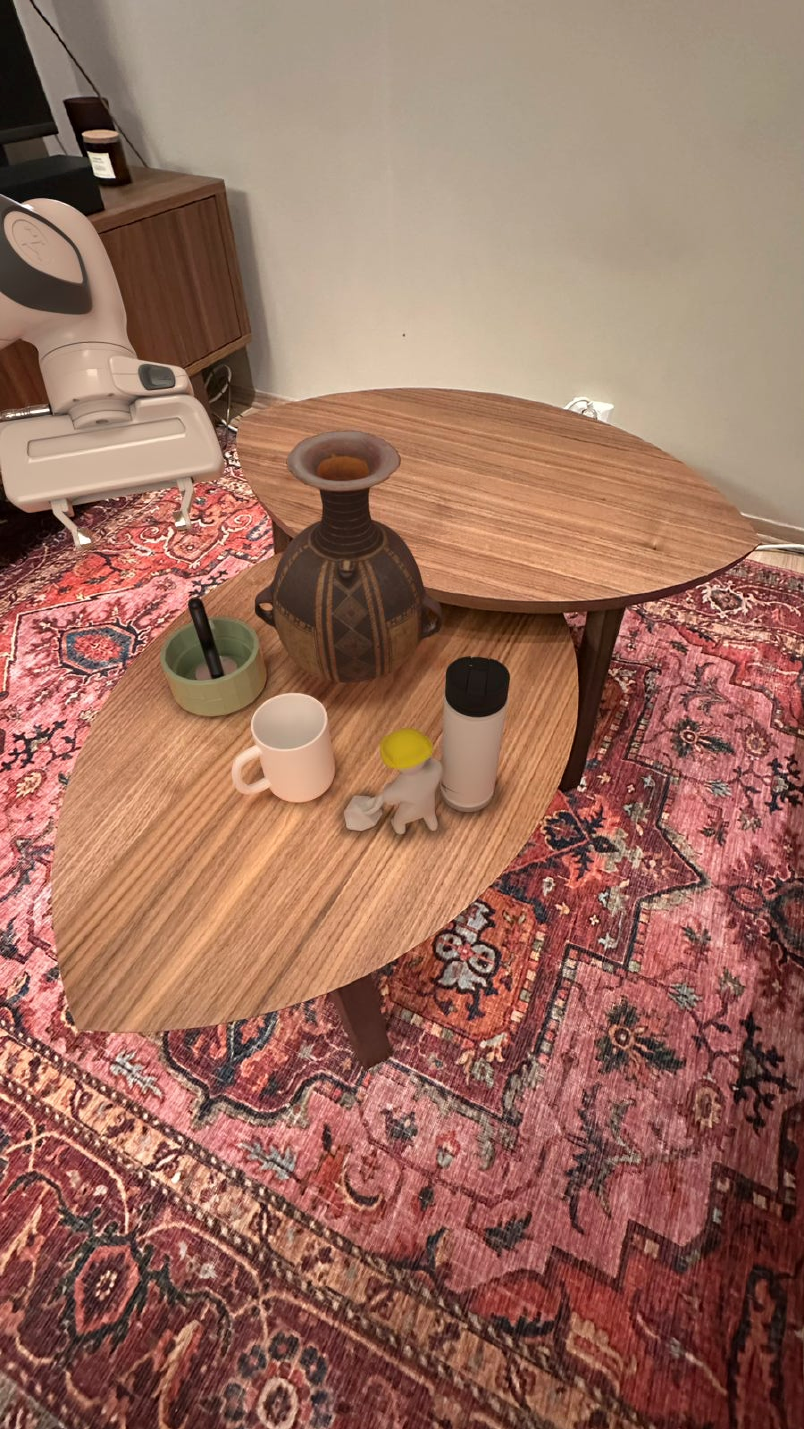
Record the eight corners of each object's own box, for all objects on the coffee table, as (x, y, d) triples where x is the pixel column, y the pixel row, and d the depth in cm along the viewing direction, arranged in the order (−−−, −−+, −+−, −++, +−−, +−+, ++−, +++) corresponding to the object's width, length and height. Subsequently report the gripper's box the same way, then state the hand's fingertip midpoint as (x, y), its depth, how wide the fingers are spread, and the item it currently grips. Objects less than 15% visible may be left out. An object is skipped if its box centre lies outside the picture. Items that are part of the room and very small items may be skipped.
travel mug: (436, 812, 78) (440, 693, 63) (443, 765, 82) (449, 644, 67) (490, 819, 77) (509, 701, 62) (495, 772, 81) (513, 651, 66)
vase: (248, 684, 92) (193, 480, 69) (314, 598, 103) (286, 398, 80) (406, 734, 86) (403, 528, 63) (458, 636, 97) (471, 432, 74)
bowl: (188, 732, 86) (174, 697, 81) (163, 670, 94) (149, 635, 89) (280, 697, 90) (272, 662, 85) (249, 641, 97) (240, 605, 92)
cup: (349, 781, 81) (342, 726, 73) (260, 834, 76) (242, 781, 69) (312, 737, 85) (302, 681, 78) (226, 785, 81) (205, 731, 73)
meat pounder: (205, 701, 89) (176, 620, 78) (193, 674, 92) (164, 592, 82) (246, 687, 90) (223, 605, 80) (232, 660, 94) (209, 578, 83)
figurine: (399, 768, 82) (396, 681, 71) (453, 815, 78) (460, 731, 66) (333, 816, 78) (319, 733, 66) (387, 870, 73) (382, 790, 62)
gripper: (-31, 399, 61) (12, 554, 62) (201, 366, 64) (237, 512, 66) (-4, 426, 67) (35, 566, 68) (206, 394, 71) (239, 527, 72)
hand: (136, 539), depth 67 cm, fingers open, 8 cm apart
